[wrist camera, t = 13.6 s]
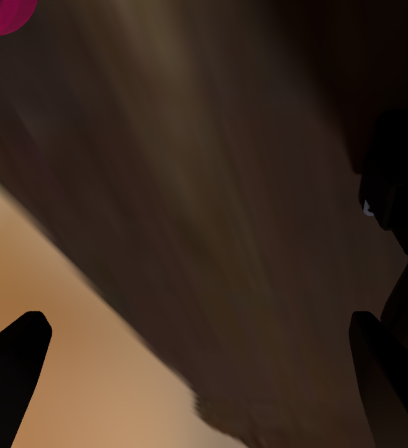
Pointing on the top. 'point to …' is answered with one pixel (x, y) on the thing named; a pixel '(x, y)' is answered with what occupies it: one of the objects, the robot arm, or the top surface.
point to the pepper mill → (15, 14)
